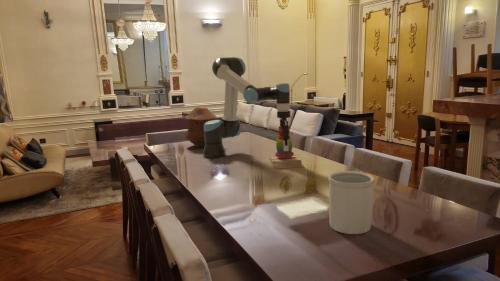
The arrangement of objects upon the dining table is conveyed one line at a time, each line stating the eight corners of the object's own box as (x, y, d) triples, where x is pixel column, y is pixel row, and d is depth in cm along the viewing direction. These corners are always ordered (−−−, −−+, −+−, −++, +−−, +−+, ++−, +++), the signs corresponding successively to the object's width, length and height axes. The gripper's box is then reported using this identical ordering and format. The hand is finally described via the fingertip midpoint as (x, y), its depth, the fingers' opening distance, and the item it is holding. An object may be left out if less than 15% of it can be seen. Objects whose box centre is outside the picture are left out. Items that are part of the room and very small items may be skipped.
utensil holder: (364, 216, 131) (365, 169, 128) (380, 234, 116) (381, 181, 113) (324, 218, 130) (323, 171, 127) (335, 236, 116) (334, 184, 113)
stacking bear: (293, 153, 215) (293, 124, 212) (294, 157, 205) (293, 126, 202) (275, 154, 216) (274, 124, 213) (275, 158, 206) (274, 127, 203)
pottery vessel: (183, 144, 287) (180, 107, 281) (215, 141, 294) (212, 105, 289) (188, 150, 262) (185, 109, 257) (222, 147, 270) (220, 107, 264)
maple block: (269, 162, 219) (269, 156, 218) (295, 161, 220) (295, 154, 219) (273, 169, 203) (273, 162, 202) (301, 167, 204) (301, 160, 203)
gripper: (293, 112, 195) (294, 152, 199) (286, 108, 217) (287, 145, 221) (280, 113, 194) (281, 153, 199) (274, 109, 216) (275, 145, 220)
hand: (284, 149), depth 210 cm, fingers closed on stacking bear, 9 cm apart
